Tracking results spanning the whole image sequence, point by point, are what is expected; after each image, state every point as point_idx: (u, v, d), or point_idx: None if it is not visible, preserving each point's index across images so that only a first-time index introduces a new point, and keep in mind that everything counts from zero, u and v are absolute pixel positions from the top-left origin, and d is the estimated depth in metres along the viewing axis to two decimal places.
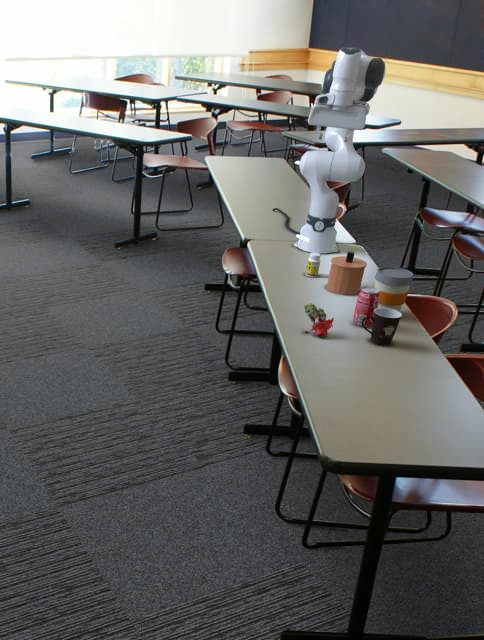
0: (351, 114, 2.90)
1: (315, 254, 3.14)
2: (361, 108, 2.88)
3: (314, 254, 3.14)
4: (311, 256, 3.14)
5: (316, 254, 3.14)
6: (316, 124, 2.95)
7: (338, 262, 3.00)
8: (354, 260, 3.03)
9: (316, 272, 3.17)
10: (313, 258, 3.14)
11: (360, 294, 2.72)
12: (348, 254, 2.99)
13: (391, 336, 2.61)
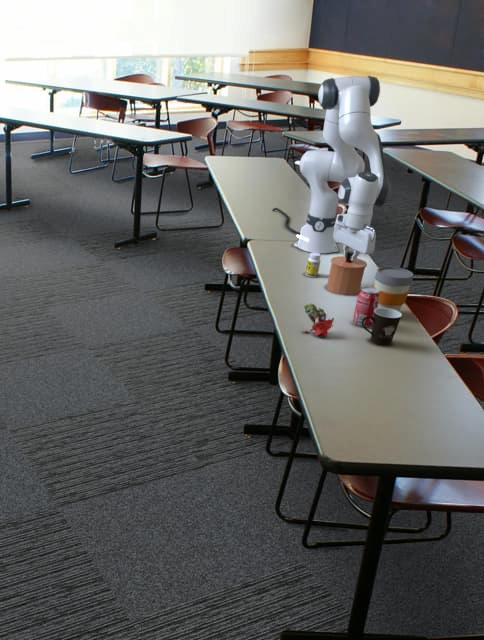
0: (359, 237, 2.91)
1: (315, 254, 3.14)
2: (366, 233, 2.88)
3: (314, 254, 3.14)
4: (311, 256, 3.14)
5: (316, 254, 3.14)
6: (337, 240, 3.02)
7: (338, 262, 3.00)
8: None
9: (316, 272, 3.17)
10: (313, 258, 3.14)
11: (360, 294, 2.72)
12: (348, 254, 2.99)
13: (391, 336, 2.61)
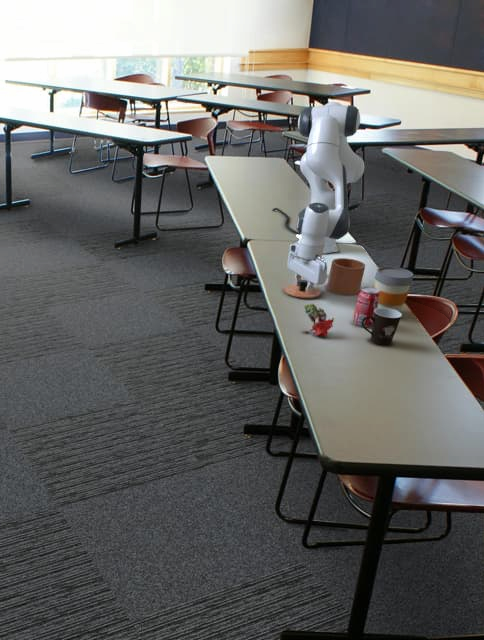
0: (311, 267, 2.91)
1: None
2: (317, 264, 2.87)
3: None
4: None
5: None
6: (291, 269, 3.02)
7: (291, 290, 3.00)
8: None
9: None
10: None
11: (360, 294, 2.72)
12: (301, 283, 2.98)
13: (391, 336, 2.61)
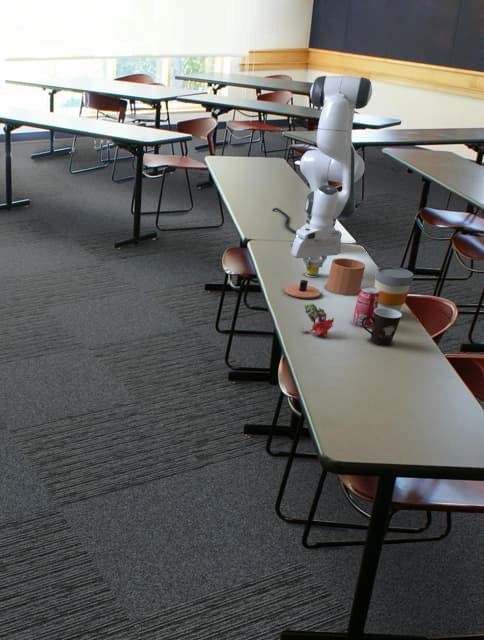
0: (329, 243, 3.13)
1: None
2: (338, 237, 3.12)
3: None
4: None
5: None
6: (303, 257, 3.11)
7: (291, 290, 3.00)
8: (308, 289, 3.02)
9: (316, 272, 3.17)
10: (313, 258, 3.14)
11: (360, 294, 2.72)
12: (301, 283, 2.98)
13: (391, 336, 2.61)
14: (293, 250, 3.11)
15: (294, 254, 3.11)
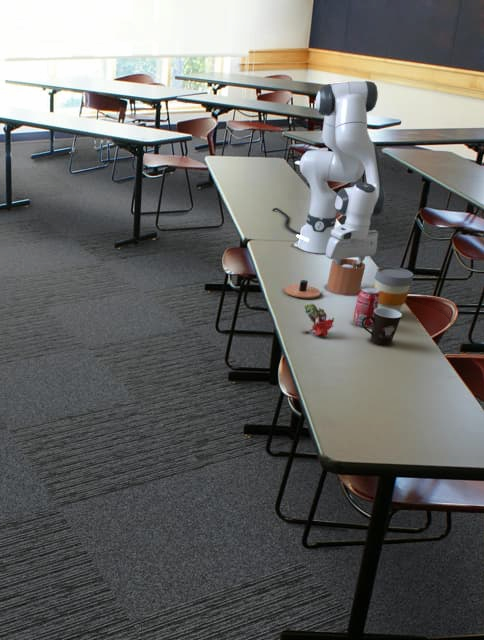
0: (365, 243, 2.98)
1: (348, 266, 3.02)
2: (374, 237, 2.98)
3: (347, 266, 3.02)
4: None
5: (349, 266, 3.02)
6: (338, 258, 2.96)
7: (291, 290, 3.00)
8: (308, 289, 3.02)
9: None
10: None
11: (360, 294, 2.72)
12: (301, 283, 2.98)
13: (391, 336, 2.61)
14: (328, 251, 2.96)
15: (329, 255, 2.96)
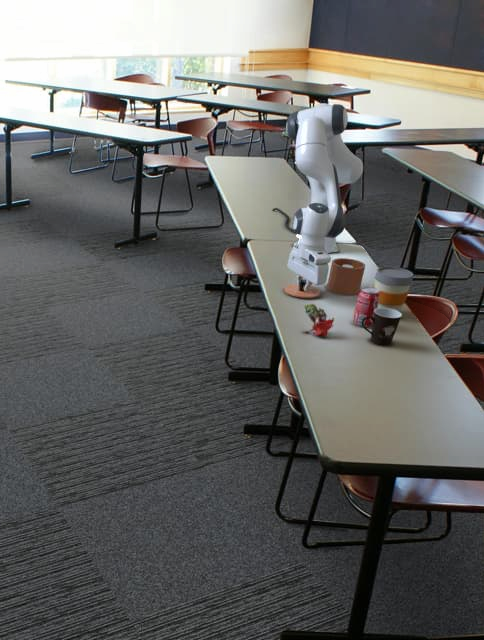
0: None
1: (347, 266, 3.02)
2: None
3: (346, 266, 3.02)
4: None
5: (349, 266, 3.02)
6: None
7: (291, 290, 3.00)
8: None
9: None
10: None
11: (360, 294, 2.72)
12: (301, 283, 2.98)
13: (391, 336, 2.61)
14: (321, 279, 2.89)
15: (323, 282, 2.90)
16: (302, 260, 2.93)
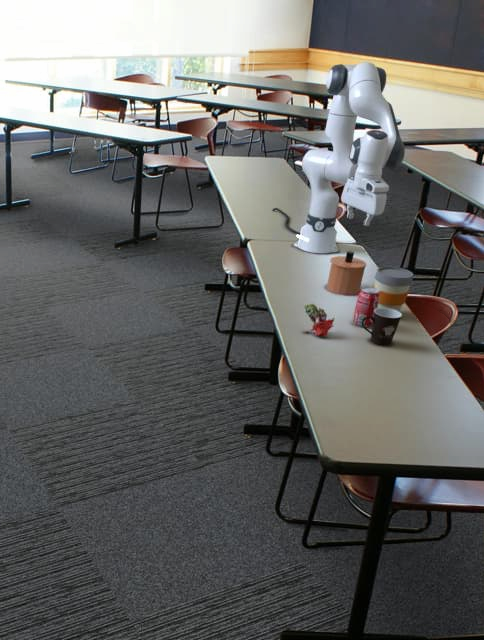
0: None
1: None
2: None
3: None
4: None
5: None
6: None
7: (337, 262, 3.00)
8: (353, 260, 3.03)
9: None
10: None
11: (360, 294, 2.72)
12: (347, 254, 2.99)
13: (391, 336, 2.61)
14: (378, 208, 2.81)
15: (380, 212, 2.82)
16: (358, 190, 2.86)
